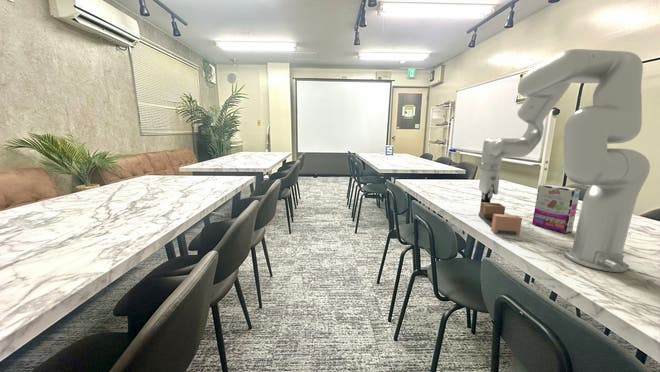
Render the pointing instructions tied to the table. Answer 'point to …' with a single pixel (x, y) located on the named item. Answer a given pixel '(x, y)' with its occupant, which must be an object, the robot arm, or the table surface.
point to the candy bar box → (556, 207)
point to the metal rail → (489, 222)
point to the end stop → (506, 223)
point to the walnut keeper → (491, 209)
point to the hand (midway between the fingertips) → (484, 208)
